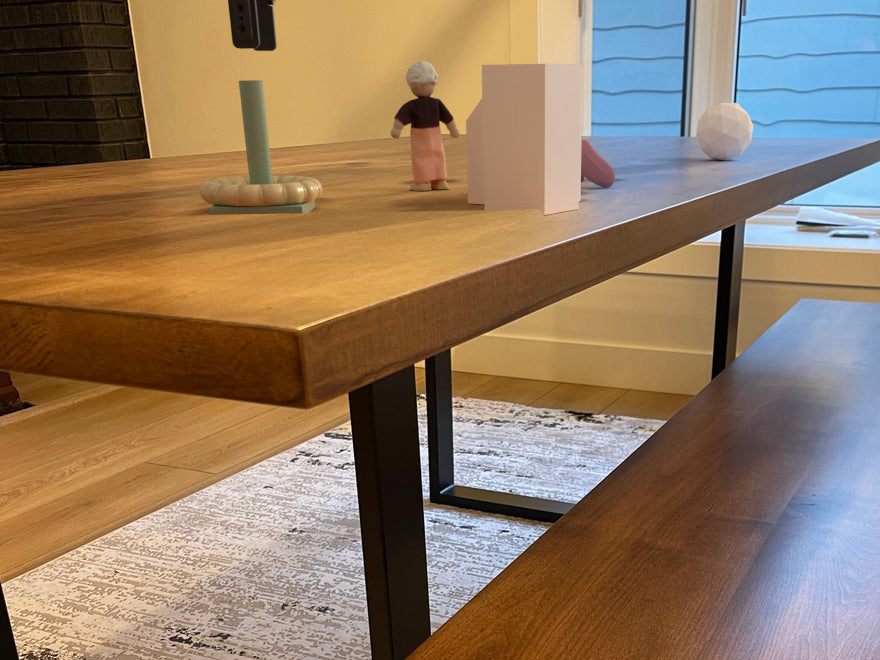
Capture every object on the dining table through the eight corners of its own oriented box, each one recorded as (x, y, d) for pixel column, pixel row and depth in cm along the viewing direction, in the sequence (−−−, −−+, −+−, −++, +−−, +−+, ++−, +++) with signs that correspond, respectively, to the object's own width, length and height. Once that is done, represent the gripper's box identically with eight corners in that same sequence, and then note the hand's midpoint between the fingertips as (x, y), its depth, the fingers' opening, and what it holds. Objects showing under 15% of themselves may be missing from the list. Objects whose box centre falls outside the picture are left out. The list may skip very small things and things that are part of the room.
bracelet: (187, 208, 85) (184, 186, 85) (219, 195, 95) (216, 175, 94) (311, 207, 85) (309, 185, 85) (330, 193, 95) (328, 174, 94)
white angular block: (544, 215, 87) (545, 63, 82) (445, 206, 93) (440, 65, 88) (609, 203, 94) (613, 64, 90) (514, 196, 101) (513, 65, 96)
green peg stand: (209, 219, 86) (191, 80, 82) (229, 208, 93) (213, 80, 89) (303, 218, 86) (290, 79, 82) (315, 207, 94) (304, 79, 89)
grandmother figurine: (444, 185, 111) (439, 61, 106) (465, 188, 109) (461, 60, 104) (386, 190, 107) (378, 61, 102) (407, 193, 104) (400, 60, 99)
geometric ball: (733, 181, 141) (755, 134, 135) (681, 159, 142) (700, 112, 135) (746, 150, 145) (768, 103, 139) (696, 128, 146) (715, 81, 139)
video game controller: (543, 195, 115) (519, 138, 111) (574, 175, 116) (551, 118, 112) (588, 204, 107) (563, 143, 103) (621, 182, 108) (598, 120, 104)
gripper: (208, -149, 88) (230, 52, 95) (165, -189, 75) (194, 47, 82) (293, -149, 89) (309, 51, 95) (265, -189, 76) (286, 47, 82)
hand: (256, 49), depth 89 cm, fingers open, 8 cm apart
